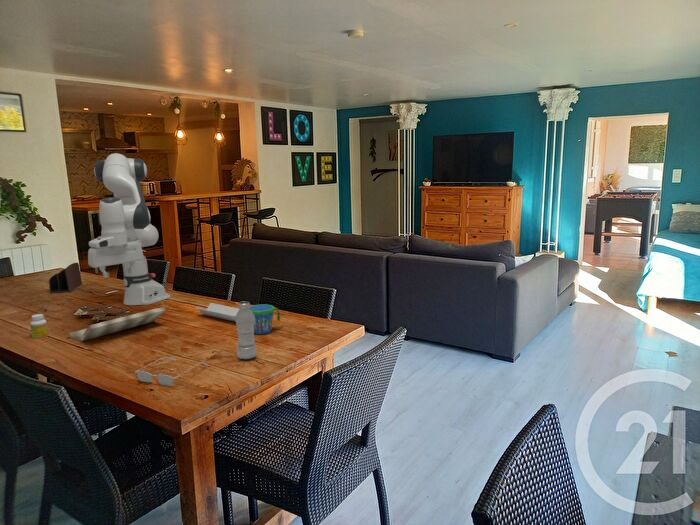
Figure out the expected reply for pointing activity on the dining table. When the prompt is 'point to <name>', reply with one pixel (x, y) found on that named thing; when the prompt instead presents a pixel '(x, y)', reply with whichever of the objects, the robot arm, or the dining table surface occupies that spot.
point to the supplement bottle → (39, 326)
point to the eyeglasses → (161, 378)
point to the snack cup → (263, 317)
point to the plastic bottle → (245, 331)
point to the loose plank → (121, 323)
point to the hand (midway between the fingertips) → (118, 275)
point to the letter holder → (66, 279)
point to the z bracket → (220, 311)
